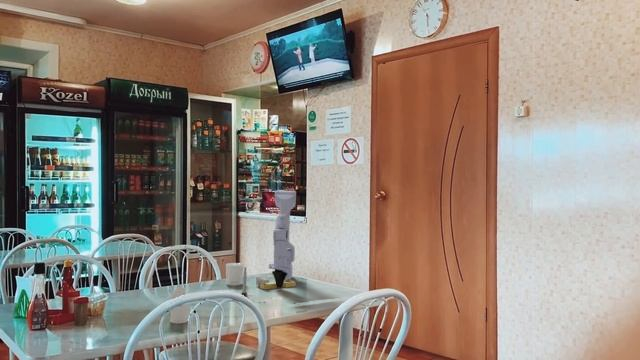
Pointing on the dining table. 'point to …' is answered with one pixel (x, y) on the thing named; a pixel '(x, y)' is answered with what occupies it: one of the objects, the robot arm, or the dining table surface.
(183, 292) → the roll
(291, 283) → the link
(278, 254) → the robot arm
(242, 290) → the tow hook
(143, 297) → the dining table surface
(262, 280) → the keeper
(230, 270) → the white cup
